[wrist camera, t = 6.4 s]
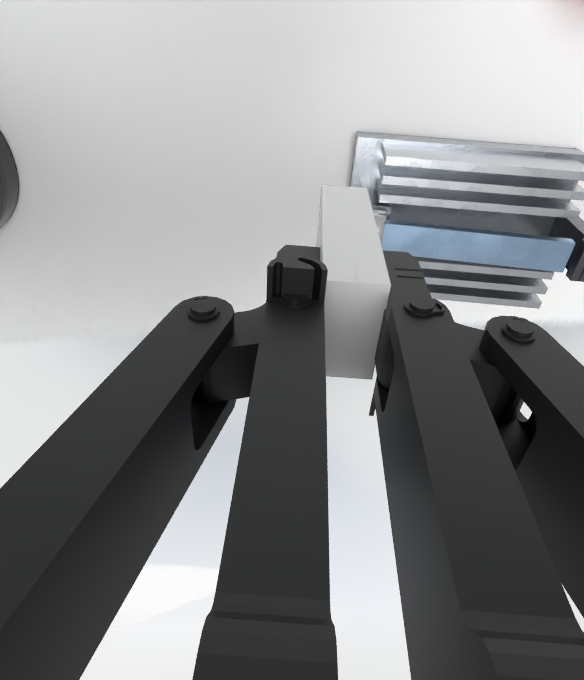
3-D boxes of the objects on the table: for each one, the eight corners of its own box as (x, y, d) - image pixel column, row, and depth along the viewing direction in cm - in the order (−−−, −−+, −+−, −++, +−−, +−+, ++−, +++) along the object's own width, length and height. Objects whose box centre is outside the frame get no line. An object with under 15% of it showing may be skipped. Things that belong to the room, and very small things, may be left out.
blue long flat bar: (362, 251, 38) (362, 259, 37) (369, 209, 36) (369, 215, 35) (555, 272, 37) (561, 281, 36) (573, 229, 35) (580, 237, 34)
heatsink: (340, 263, 46) (340, 310, 39) (357, 131, 39) (361, 160, 32) (533, 279, 45) (569, 331, 38) (585, 149, 38) (641, 182, 31)
